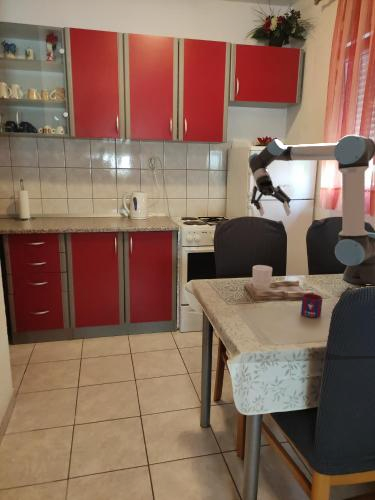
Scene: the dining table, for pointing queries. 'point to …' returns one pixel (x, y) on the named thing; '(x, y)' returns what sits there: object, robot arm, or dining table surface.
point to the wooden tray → (278, 291)
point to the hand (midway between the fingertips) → (276, 214)
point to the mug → (311, 305)
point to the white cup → (262, 277)
